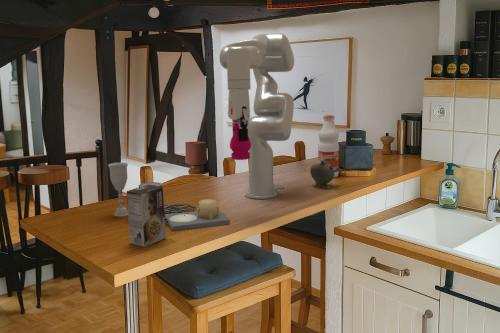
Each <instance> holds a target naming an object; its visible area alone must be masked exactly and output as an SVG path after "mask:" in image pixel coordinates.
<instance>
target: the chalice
mask: <svg viewBox="0 0 500 333" xmlns="http://www.w3.org/2000/svg"><path fill="white" fill-rule="evenodd" d="M128 165H129V163H127V162H112V163H110V164H109V163H108V164H107V166H108V168H109V178H110V181H111V184H112V186H113V187H114V189H115V191H118V195H117V197H118V201H117V202H118V203H119V206H118V207H117V208H116V209H115V212H114V214H113V216H114V217H126V216H128V209H127V208H126V207H125V206H123V202H124V200H123V199H122V197H123V195H122V191H124V189H125V186H126V184H127V181H128V168H127V167H128Z"/></svg>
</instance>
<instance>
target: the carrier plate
mask: <svg viewBox="0 0 500 333" xmlns="http://www.w3.org/2000/svg"><path fill="white" fill-rule="evenodd" d="M187 213H188V214H187ZM164 215H165V217H166V218H167V220H168V223H167V225H168V226H169V228H170V229H171V231H172V232H175V231H185V230H192V229H193V230H194V229H200V228H208V227H209V228H210V227H219V226H226V225H227V226H228V225H231V219H229V217H228V216H226V214H224V213H223V212H222V210H221V209H220V206H219V205H218V201H217V200H216V199H212V198H211V199H210V198H208V199H206V198H205V199H201V200H199V201H198V207H197V208H196V210H195V211H187V212H180V213H170V214H169V213H166V214H164ZM184 215H185V216H184Z"/></svg>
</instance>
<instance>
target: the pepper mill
mask: <svg viewBox="0 0 500 333" xmlns="http://www.w3.org/2000/svg"><path fill="white" fill-rule="evenodd" d="M232 110H233V109H232V108H231V115H232V112H233V111H232ZM240 119H244V118H240ZM232 120H233V119H231V121H232ZM232 123H234V133H233V132H232V136H231V138H230V142H229V149H230V150H231V151H232V152H231V154H230V155H231V159H232V160H235V161H246V160H249V158H250V153H249V150H250V148H251V142H250V139H249V137H248V141H239V140H238V129H239V123H238V120H237V121H236V120H233V121H232ZM241 124H242V122H241Z"/></svg>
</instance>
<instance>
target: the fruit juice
mask: <svg viewBox="0 0 500 333" xmlns="http://www.w3.org/2000/svg"><path fill="white" fill-rule="evenodd" d="M339 136H340V134H339V131H338V129H337V127H336V124H335V115H334V114H333V115H332V114H326V115H323V124H322V127H321V129H320V130H319V132H318V139H319V141H318V150H317V152H318V153H317V154H318V155H317V161H319V159H320V160H321V161H327V162H329V164H330V165H331V166H332V168H333V169H332V170H331V171H332V172H333V173H334V174H335V175H334V178H337V177H339V167H340V166H339V164H340V160H339V159H340V157H339V156H340V145H339V142H338V141H339V138H340V137H339Z"/></svg>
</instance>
